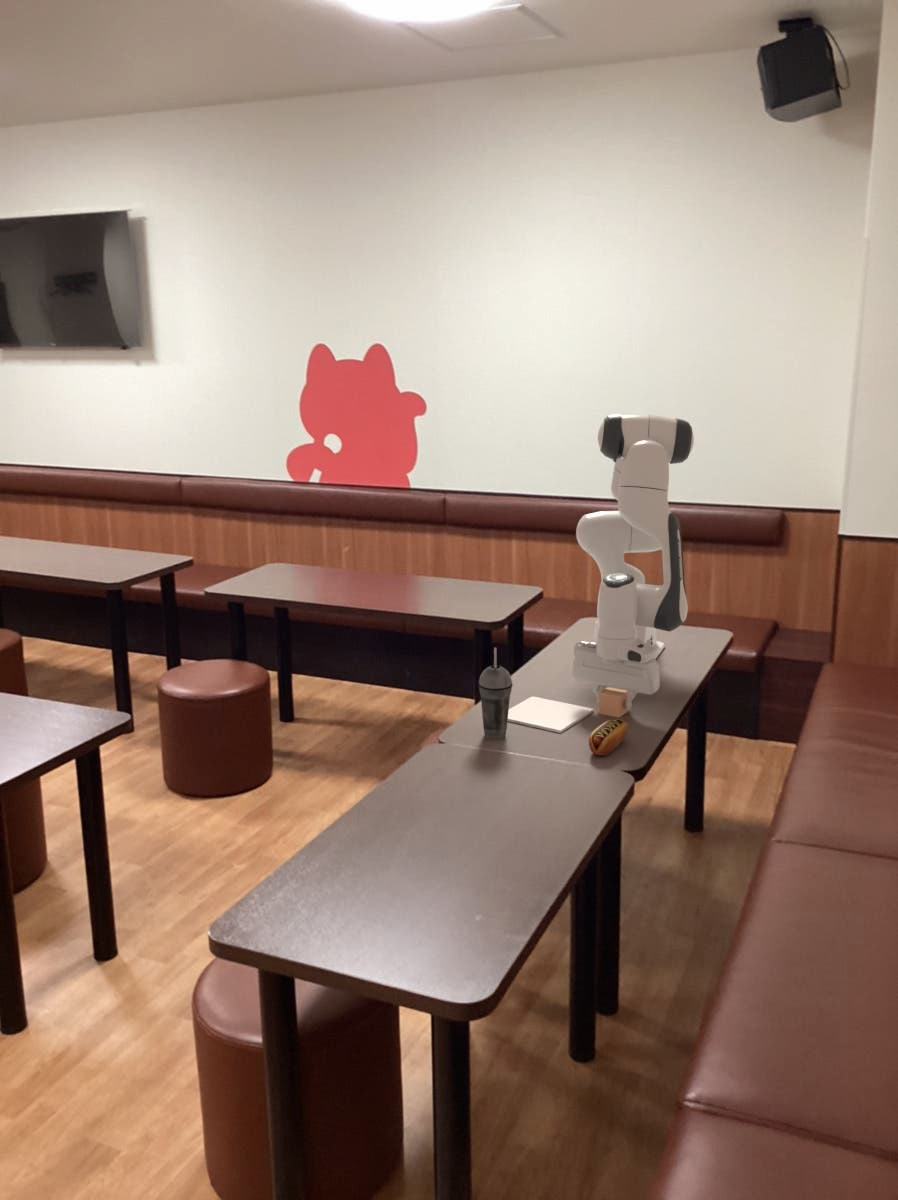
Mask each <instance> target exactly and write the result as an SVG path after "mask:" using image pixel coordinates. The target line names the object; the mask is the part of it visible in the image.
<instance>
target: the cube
mask: <svg viewBox="0 0 898 1200" xmlns="http://www.w3.org/2000/svg"><path fill="white" fill-rule="evenodd" d="M629 696H630V695H628V691H627V690H622V689H617V688H611V687H606V688H604V689H603V690H601V692H599V703H598V715H599V714H600V715H605V716H608V717H609V716H610V717H613V718H621V717H622V716H623V715H625V714H627V713H628V712H629V709H625V708H623V701H624V700H625V699H628V698H629Z"/></svg>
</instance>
